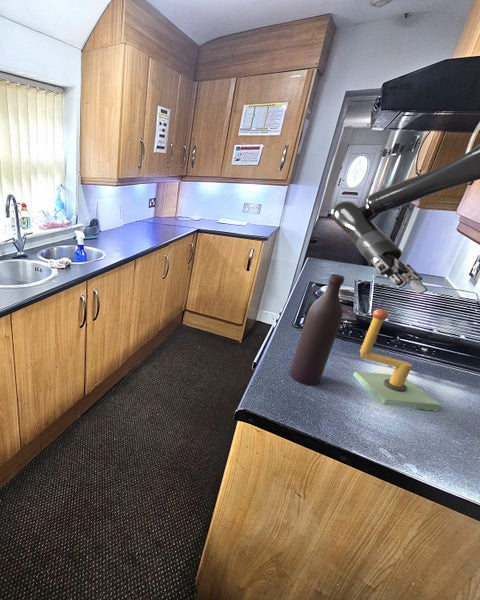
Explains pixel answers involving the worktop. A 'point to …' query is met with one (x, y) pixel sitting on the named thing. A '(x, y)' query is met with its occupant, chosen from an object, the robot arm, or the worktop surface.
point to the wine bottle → (318, 335)
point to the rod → (401, 366)
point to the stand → (395, 391)
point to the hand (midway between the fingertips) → (413, 289)
